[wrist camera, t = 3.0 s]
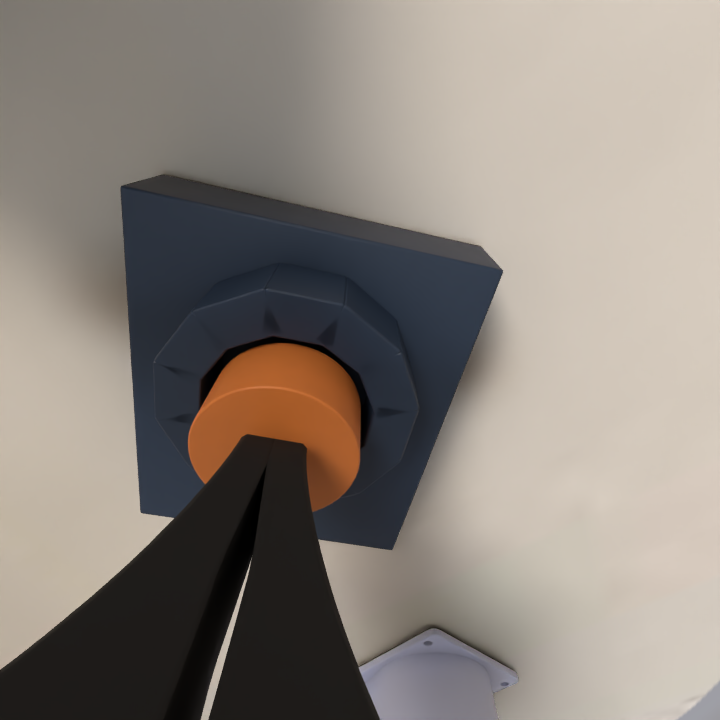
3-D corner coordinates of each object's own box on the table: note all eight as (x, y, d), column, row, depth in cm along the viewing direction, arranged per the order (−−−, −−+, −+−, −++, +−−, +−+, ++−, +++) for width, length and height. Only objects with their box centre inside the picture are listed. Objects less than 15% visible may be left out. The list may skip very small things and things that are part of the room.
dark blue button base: (389, 502, 19) (395, 600, 15) (166, 466, 18) (112, 561, 14) (482, 246, 13) (530, 298, 10) (161, 173, 12) (69, 198, 9)
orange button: (345, 470, 13) (342, 527, 11) (211, 448, 12) (185, 503, 11) (375, 358, 11) (377, 405, 9) (218, 327, 10) (188, 370, 9)
